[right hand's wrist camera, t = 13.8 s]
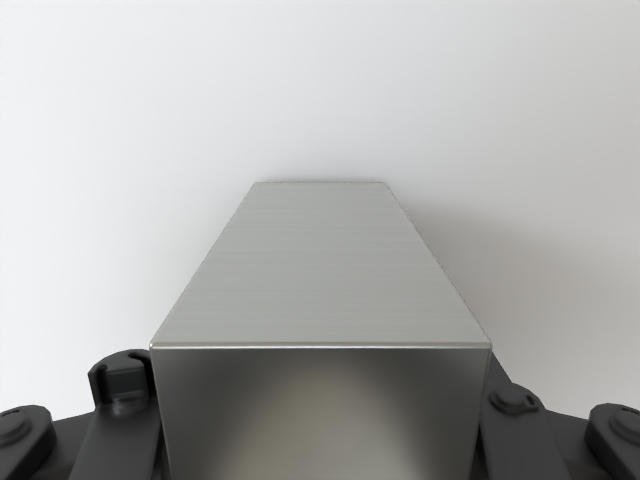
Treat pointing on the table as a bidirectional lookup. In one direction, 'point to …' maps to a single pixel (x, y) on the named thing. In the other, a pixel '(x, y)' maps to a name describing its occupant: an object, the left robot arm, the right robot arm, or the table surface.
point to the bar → (320, 347)
